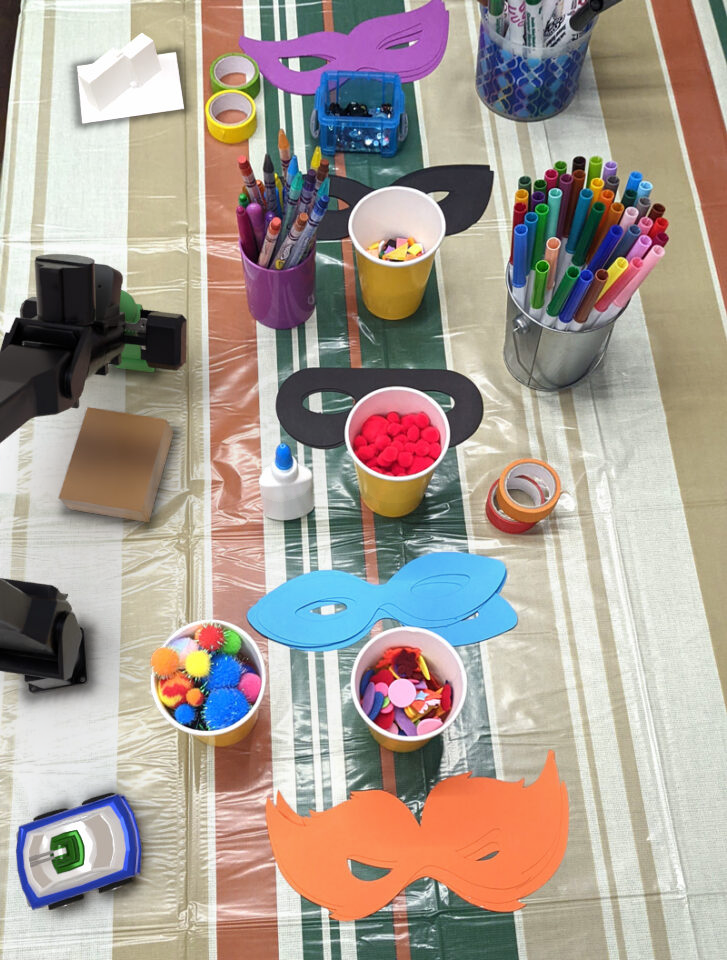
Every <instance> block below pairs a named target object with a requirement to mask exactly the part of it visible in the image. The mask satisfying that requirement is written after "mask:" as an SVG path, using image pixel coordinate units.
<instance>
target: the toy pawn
mask: <svg viewBox="0 0 727 960" xmlns="http://www.w3.org/2000/svg"><path fill="white" fill-rule="evenodd" d="M140 309H143V310H144V308H143V305H142V304H140V303H137V302H136V300H135V299H134V297H133V296H132V295H131V293H129V292H128V291H126V290H123V289H121V297H120V312H125V322H131V323H137V322H138V320H140ZM125 331H126V330H125ZM128 332H130V330H129V331H128ZM131 332H133V330H132V331H131ZM135 332H136V331H135ZM136 333H137V332H136ZM114 367H115V369H122V370H131V371H139V372H146V373H147V372H148V373H154V372H155V370H156V368H150V367H148V365H147V363H146V360H141V346H138V345H132V344H125V350H124V351H123V352H122V363H121V364H120V365H114Z"/></svg>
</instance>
